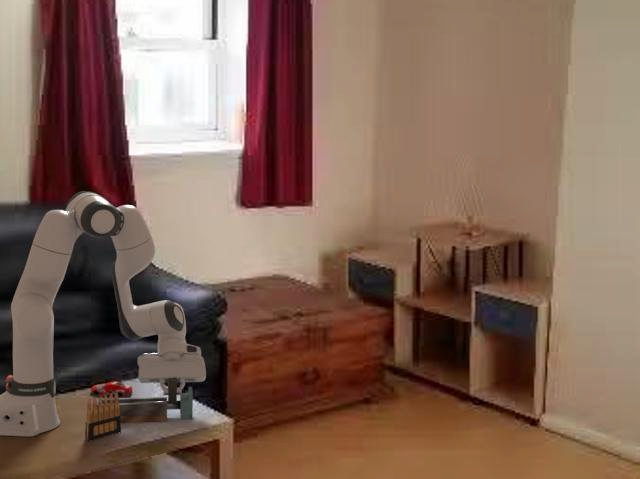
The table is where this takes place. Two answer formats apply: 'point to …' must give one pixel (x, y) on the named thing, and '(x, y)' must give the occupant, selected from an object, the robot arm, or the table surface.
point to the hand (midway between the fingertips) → (172, 394)
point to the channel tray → (141, 410)
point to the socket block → (186, 405)
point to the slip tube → (169, 396)
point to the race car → (112, 389)
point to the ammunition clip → (103, 418)
